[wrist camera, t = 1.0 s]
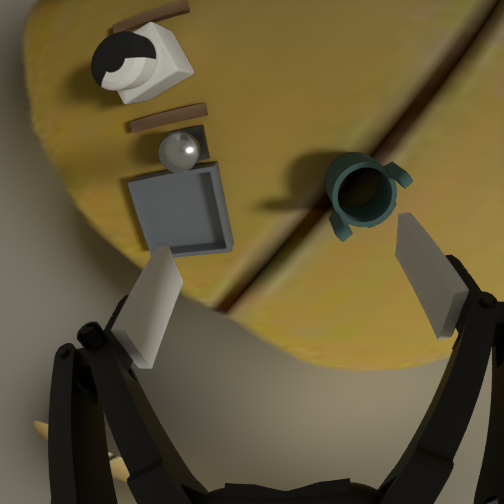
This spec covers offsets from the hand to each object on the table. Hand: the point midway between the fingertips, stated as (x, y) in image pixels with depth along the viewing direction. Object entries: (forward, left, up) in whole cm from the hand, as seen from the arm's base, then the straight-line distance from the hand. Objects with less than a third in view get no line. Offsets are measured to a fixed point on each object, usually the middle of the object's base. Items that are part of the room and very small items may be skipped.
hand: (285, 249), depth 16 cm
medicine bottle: (-15, -13, -23) cm, 30 cm away
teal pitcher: (+5, +10, -23) cm, 26 cm away
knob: (-3, -11, -23) cm, 25 cm away
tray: (+6, -14, -23) cm, 27 cm away
